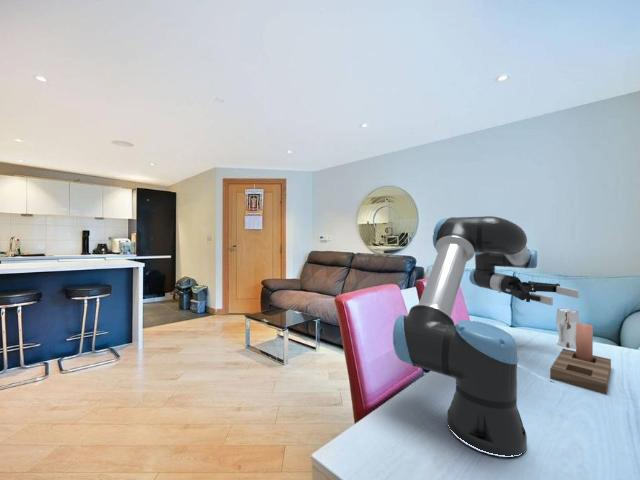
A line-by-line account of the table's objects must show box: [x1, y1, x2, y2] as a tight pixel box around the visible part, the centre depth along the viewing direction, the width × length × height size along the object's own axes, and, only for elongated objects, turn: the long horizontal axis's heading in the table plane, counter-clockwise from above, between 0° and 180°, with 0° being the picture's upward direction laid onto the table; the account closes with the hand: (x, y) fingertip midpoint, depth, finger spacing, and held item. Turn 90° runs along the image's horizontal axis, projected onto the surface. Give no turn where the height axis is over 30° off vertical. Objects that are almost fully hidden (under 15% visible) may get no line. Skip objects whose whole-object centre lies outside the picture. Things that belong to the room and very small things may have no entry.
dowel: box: [575, 322, 594, 362], centre depth 94 cm, size 4×4×14 cm
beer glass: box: [555, 308, 580, 349], centre depth 113 cm, size 7×7×15 cm
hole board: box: [549, 348, 612, 396], centre depth 89 cm, size 24×12×4 cm, turn 132°
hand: (565, 297), depth 96 cm, fingers open, 13 cm apart
